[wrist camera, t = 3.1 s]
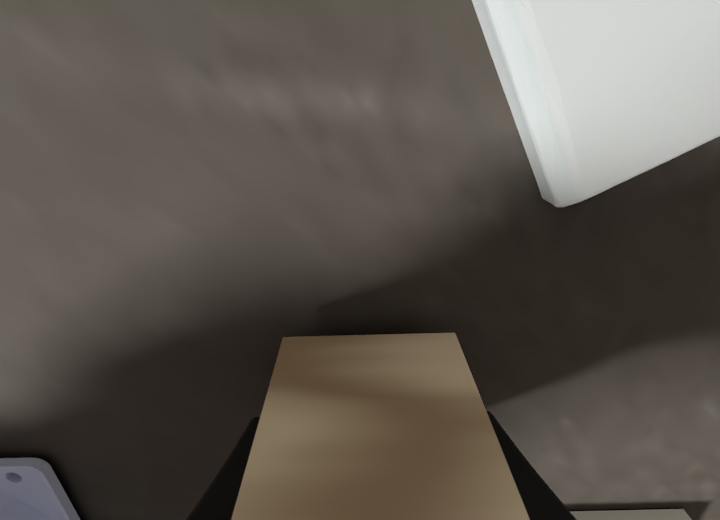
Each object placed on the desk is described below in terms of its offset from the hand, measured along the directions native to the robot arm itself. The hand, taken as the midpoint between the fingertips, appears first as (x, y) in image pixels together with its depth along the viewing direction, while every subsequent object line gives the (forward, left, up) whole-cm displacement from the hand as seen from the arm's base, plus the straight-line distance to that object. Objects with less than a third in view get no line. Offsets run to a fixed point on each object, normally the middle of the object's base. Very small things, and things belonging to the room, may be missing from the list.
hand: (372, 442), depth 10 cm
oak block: (0, 0, -1) cm, 1 cm away
